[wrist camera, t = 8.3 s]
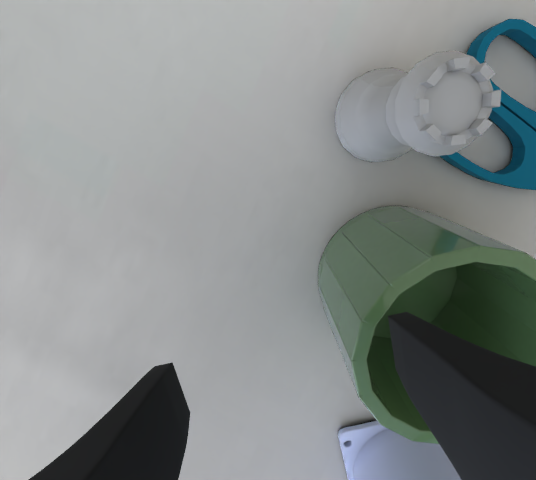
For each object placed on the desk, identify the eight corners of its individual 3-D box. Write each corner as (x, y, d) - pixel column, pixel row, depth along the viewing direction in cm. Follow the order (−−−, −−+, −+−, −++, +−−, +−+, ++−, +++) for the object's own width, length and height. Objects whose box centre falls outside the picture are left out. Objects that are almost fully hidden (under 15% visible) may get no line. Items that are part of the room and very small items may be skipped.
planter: (463, 321, 22) (576, 420, 14) (331, 351, 22) (371, 463, 14) (452, 189, 20) (579, 222, 12) (304, 225, 20) (334, 279, 12)
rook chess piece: (315, 111, 18) (357, 92, 10) (386, 50, 17) (487, -19, 10) (365, 178, 19) (437, 205, 12) (433, 123, 19) (559, 112, 11)
